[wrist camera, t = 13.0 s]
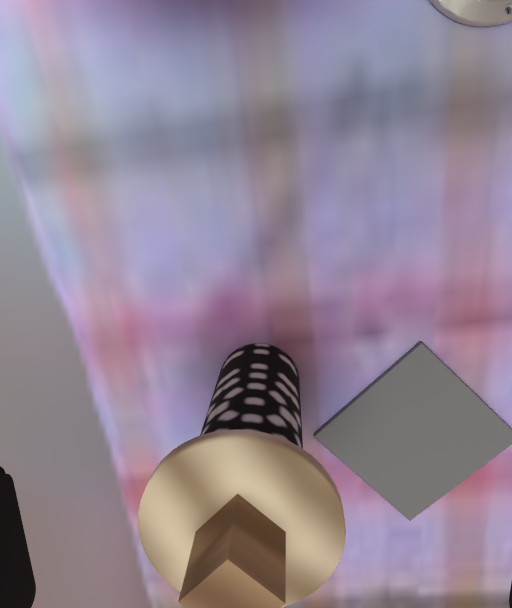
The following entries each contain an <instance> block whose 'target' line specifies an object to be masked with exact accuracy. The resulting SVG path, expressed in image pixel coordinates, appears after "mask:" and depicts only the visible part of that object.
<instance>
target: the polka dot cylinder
mask: <svg viewBox="0 0 512 608" xmlns="http://www.w3.org/2000/svg"><path fill="white" fill-rule="evenodd" d="M222 430H252V431H258V432H264V433H268V434H271V435H275V436H278V437H280V438H283V439H285V440H287V441H290V442H292V443H293V444H295V445H297V446H299V447H300V448H302V449H303V445H302V426H301V407H300V388H299V375H298V371H297V368H296V366H295V364H294V362H293V361H292V360H291V358H290V357H289V356H288V355H287V354H286V353H285V352H283V351H282V350H280V349H278V348H276V347H274V346H271V345H267V344H250V345H246V346H243V347H241V348H239V349H237V350H236V351H234V352H233V353H232V354H231V355H230V356H228V358H227V359H226V361H225V362H224V364H223V366H222V369H221V372H220V375H219V378H218V381H217V384H216V387H215V391H214V394H213V397H212V400H211V403H210V406H209V409H208V413H207V416H206V419H205V422H204V425H203V428H202V432H201V435H204V434H207V433H211V432H217V431H222ZM201 435H200V436H201Z"/></svg>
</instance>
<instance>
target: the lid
mask: <svg viewBox="0 0 512 608" xmlns="http://www.w3.org/2000/svg"><path fill="white" fill-rule="evenodd" d="M138 529H139V535H140V539H141V543H142V546H143V548H144V551H145V553H146V555H147V557H148V559H149V560H150V562H151V564H152V565H153V566H154V568H155V569H156V570H157V572H158V573H159V574H160V575H161V576H162V577H163V578H164V579H165V580H166V581H167V582H168V583H169V584H171V585H172V586H173V587H174V588H175V589H177V590H178V591H180V592H181V593H180V597H179V601H178V602H179V603H181V604H182V605H183V606H185V607H186V608H281V607H285V606H288V605H290V604H293V603H295V602H297V601H299V600H301V599H303V598H305V597H307V596H308V595H310V594H311V593H313V592H314V591H316V590H317V589H318V588H319V587H320V586H321V585H322V584H324V583H325V581H326V580H327V579H328V578H329V577H330V576H331V574H332V573H333V571H334V570H335V568H336V566H337V565H338V563H339V560H340V558H341V556H342V552H343V548H344V544H345V535H346V530H345V519H344V513H343V507H342V502H341V498H340V495H339V492H338V490H337V487H336V485H335V483H334V482H333V480H332V478H331V477H330V475H329V474H328V472H327V471H326V470H325V469H324V467H323V466H322V465H321V464H320V463H319V462H318V461H317V460H316V459H315V458H314V457H313V456H312V455H310V454H309V453H307V452H306V451H305V450H303V449H302V448H300V447H299V446H297V445H295V444H293V443H292V442H290V441H287V440H285V439H283V438H280V437H278V436H275V435H271V434H268V433H264V432H258V431H252V430H222V431H217V432H211V433H207V434H204V435H201V436H198V437H195V438H193V439H191V440H189V441H187V442H185V443H183V444H181V445H180V446H178V447H177V448H175V449H174V450H173V451H171V452H170V453H169V454H168V455H167V456H166V457H165V458H164V459H163V460H162V461H161V462H160V463H159V465H158V466H157V467H156V469H155V470H154V472H153V474H152V475H151V478H150V480H149V482H148V484H147V487H146V489H145V491H144V494H143V496H142V498H141V502H140V506H139V513H138Z"/></svg>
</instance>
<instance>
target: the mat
mask: <svg viewBox="0 0 512 608" xmlns="http://www.w3.org/2000/svg"><path fill="white" fill-rule="evenodd" d="M314 437H315V438H316V439H317V440H318V441H319V442H320V443H321V444H323V445H324V446H325V447H326V448H327V449H328V450H329V451H331V452H332V453H333V454H334V455H335V456H336V457H337V458H339V459H340V460H341V461H342V462H343V463H344V464H345V465H347V466H348V467H349V468H350V469H351V470H352V471H353V472H355V473H356V474H357V475H358V476H359V477H360V478H361V479H363V480H364V481H365V482H366V483H367V484H368V485H369V486H371V487H372V488H373V489H374V490H375V491H376V492H377V493H379V494H380V495H381V496H382V497H383V498H384V499H385V500H387V501H388V502H389V503H390V504H391V505H392V506H393V507H395V508H396V509H397V510H398V511H399V512H400V513H401V514H403V515H404V516H405V517H406V518H407V519H408V520H409V521H410V520H412V519H413V518H414V517H416V516H417V515H418V514H420V513H421V512H422V511H424V510H425V509H426V508H428V507H429V506H430V505H432V504H433V503H434V502H436V501H437V500H438V499H440V498H441V497H442V496H444V495H445V494H446V493H448V492H449V491H450V490H452V489H453V488H454V487H456V486H457V485H458V484H460V483H461V482H462V481H464V480H465V479H466V478H468V477H469V476H470V475H472V474H473V473H474V472H476V471H477V470H478V469H480V468H481V467H482V466H484V465H485V464H486V463H488V462H489V461H490V460H492V459H493V458H494V457H496V456H497V455H498V454H500V453H501V452H502V451H504V450H505V449H506V448H507V447H509V446H510V445H511V444H512V429H511V428H510V427H509V426H508V425H507V424H506V423H505V422H504V421H503V420H502V419H501V418H500V417H499V416H498V415H497V414H496V413H495V412H494V411H493V410H491V409H490V408H489V407H488V406H487V405H486V404H485V403H484V402H483V401H482V400H481V399H480V398H479V397H478V396H477V395H476V394H475V393H474V392H473V391H472V390H471V389H470V388H469V387H468V386H467V385H466V384H465V383H463V382H462V381H461V380H460V379H459V378H458V377H457V376H456V375H455V374H454V373H453V372H452V371H451V370H450V369H449V368H448V367H447V366H446V365H445V364H444V363H443V362H442V361H441V360H440V359H439V358H438V357H436V356H435V355H434V354H433V353H432V352H431V351H430V350H429V349H428V348H427V347H426V346H425V345H424V344H423V343H422V342H421V341H420V342H419V343H418V344H416V345H415V346H414V347H413V348H412V349H411V350H410V351H408V352H407V353H406V354H405V355H404V356H403V357H401V358H400V359H399V360H398V361H397V362H396V363H395V364H393V365H392V366H391V367H390V368H389V369H388V370H387V371H385V372H384V373H383V374H382V375H381V376H380V377H378V378H377V379H376V380H375V381H374V382H373V383H372V384H370V385H369V386H368V387H367V388H366V389H365V390H364V391H362V392H361V393H360V394H359V395H358V396H357V397H356V398H354V399H353V400H352V401H351V402H350V403H349V404H347V405H346V406H345V407H344V408H343V409H342V410H341V411H339V412H338V413H337V414H336V415H335V416H334V417H333V418H331V419H330V420H329V421H328V422H327V423H326V424H324V425H323V426H322V427H321V428H320V429H319V430H318V431H316V432H315V433H314Z"/></svg>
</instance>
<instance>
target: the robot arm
mask: <svg viewBox="0 0 512 608" xmlns="http://www.w3.org/2000/svg"><path fill="white" fill-rule="evenodd" d="M430 1H431V2H432V4H433V5H434V6H435V7H436V8H437V9H438V10H439V11H441V12H442V13H443V14H444V15H445V16H447V17H449V18H451V19H453V20H455V21H457V22H459V23H462V24H466V25H471V26H485V27H489V26H495V25H500V24H505V23H507V22H510V21H512V0H430ZM505 9H508V10H509V14H507V13H506V11H505ZM35 592H36V586H35V580H34V575H33V571H32V566H31V561H30V557H29V552H28V548H27V543H26V539H25V534H24V529H23V525H22V520H21V515H20V510H19V506H18V501H17V497H16V492H15V488H14V483H13V479H12V477H11V476H10V475H9V474H6V473H5V471H4V469H3V468H2V467H0V608H31V607H32V604H33V601H34V598H35ZM509 605H510V608H512V583H511V590H510V597H509Z"/></svg>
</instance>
